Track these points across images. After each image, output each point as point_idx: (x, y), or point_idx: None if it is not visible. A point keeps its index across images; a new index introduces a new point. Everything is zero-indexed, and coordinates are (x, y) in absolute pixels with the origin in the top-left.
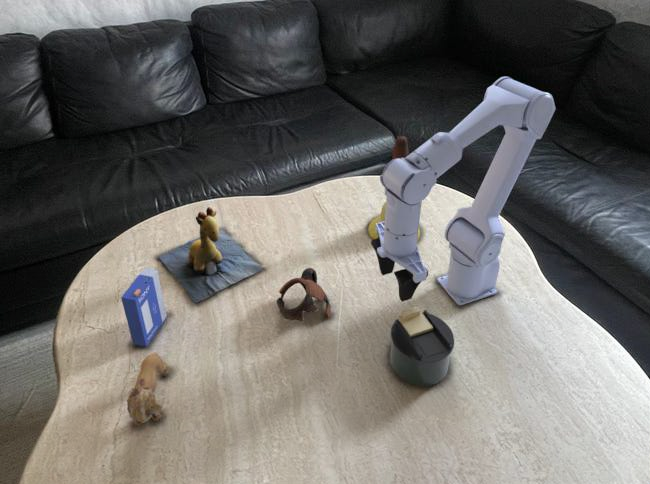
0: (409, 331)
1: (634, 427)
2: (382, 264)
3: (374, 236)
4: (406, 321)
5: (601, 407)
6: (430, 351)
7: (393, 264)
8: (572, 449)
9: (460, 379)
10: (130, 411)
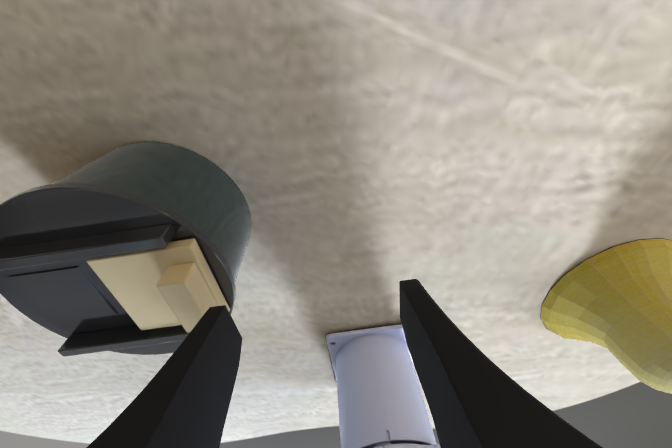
0: (106, 265)
1: (71, 424)
2: (426, 341)
3: (635, 250)
4: (162, 269)
5: (98, 411)
6: (38, 291)
7: (414, 364)
8: (2, 368)
9: None
10: None
